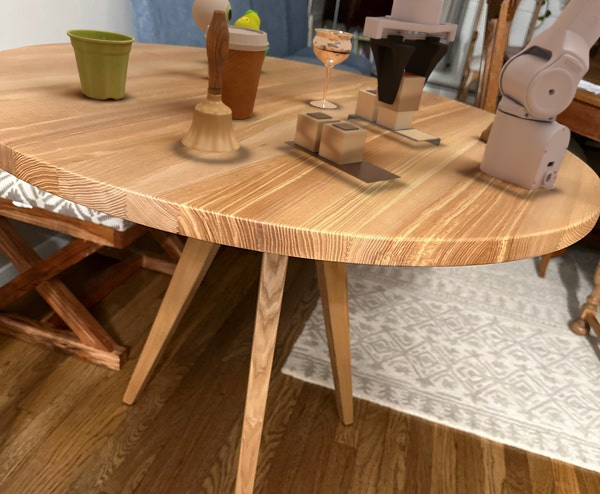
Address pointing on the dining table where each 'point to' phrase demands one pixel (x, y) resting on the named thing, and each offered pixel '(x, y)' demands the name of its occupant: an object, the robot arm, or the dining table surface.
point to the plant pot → (101, 62)
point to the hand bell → (213, 97)
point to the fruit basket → (250, 22)
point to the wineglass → (330, 55)
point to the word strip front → (337, 145)
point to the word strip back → (388, 118)
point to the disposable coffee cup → (242, 69)
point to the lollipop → (209, 12)
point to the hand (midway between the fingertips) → (397, 101)
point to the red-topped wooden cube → (406, 94)
